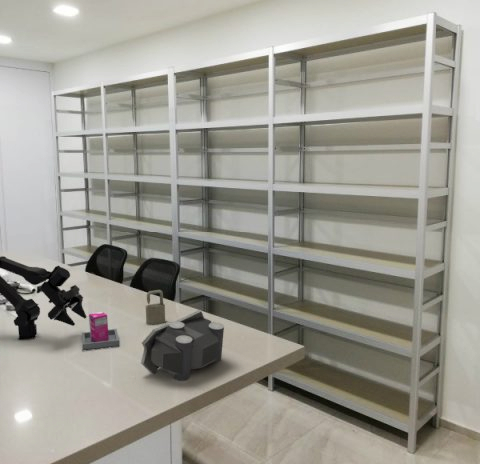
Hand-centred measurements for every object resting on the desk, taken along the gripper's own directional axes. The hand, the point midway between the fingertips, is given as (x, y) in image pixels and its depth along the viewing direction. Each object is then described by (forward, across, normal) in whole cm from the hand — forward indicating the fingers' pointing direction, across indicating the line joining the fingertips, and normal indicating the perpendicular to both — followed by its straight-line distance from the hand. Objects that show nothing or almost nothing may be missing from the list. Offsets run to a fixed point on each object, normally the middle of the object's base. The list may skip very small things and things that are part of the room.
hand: (80, 321), depth 206 cm
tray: (+12, 0, 0) cm, 12 cm away
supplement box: (+12, 0, 0) cm, 12 cm away
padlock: (+21, +27, -10) cm, 36 cm away
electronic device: (+42, -16, -30) cm, 54 cm away
